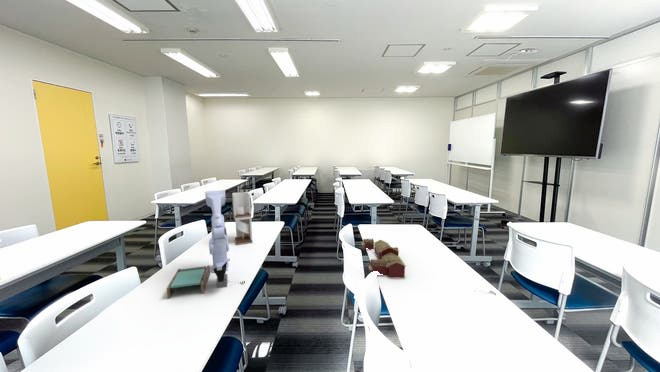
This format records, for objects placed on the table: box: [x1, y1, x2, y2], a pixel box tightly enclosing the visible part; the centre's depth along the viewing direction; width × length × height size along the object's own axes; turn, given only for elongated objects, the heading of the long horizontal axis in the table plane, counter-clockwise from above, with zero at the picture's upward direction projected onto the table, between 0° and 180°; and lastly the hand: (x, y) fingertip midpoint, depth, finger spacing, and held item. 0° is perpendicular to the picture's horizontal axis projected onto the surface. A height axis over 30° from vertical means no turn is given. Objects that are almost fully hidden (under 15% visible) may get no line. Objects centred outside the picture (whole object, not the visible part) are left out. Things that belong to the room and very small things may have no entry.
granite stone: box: [216, 273, 229, 289], centre depth 128 cm, size 4×4×4 cm
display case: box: [231, 191, 253, 246], centre depth 185 cm, size 11×11×35 cm
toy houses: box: [360, 238, 407, 278], centre depth 157 cm, size 45×20×10 cm, turn 2°
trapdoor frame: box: [166, 264, 211, 300], centre depth 128 cm, size 20×15×5 cm
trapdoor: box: [170, 265, 207, 289], centre depth 127 cm, size 18×12×3 cm
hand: (222, 277), depth 128 cm, fingers open, 7 cm apart
